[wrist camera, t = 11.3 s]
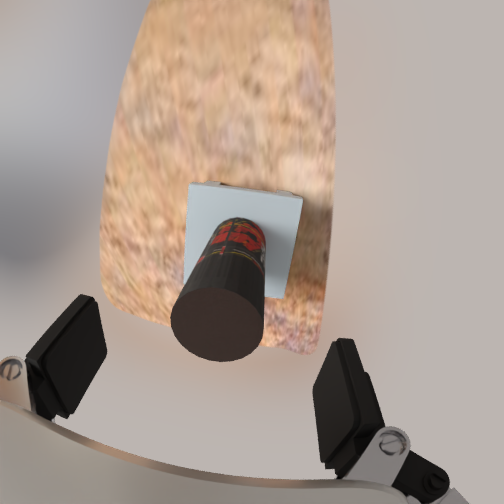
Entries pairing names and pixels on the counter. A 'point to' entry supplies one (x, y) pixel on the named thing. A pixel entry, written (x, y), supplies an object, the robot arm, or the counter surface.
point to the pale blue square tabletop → (250, 207)
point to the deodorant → (224, 295)
